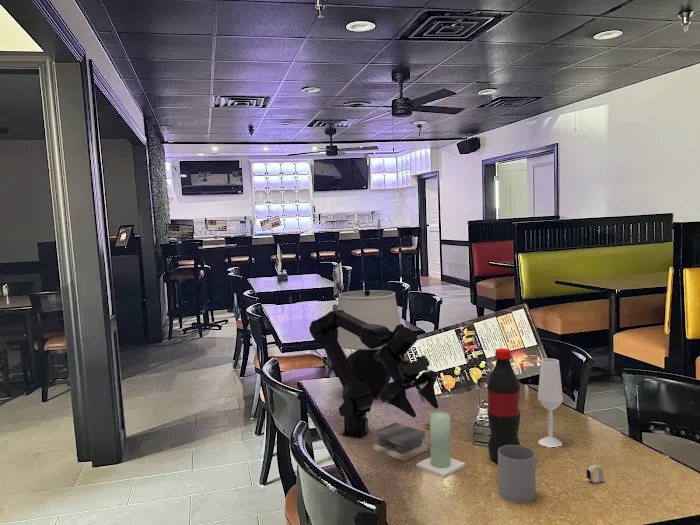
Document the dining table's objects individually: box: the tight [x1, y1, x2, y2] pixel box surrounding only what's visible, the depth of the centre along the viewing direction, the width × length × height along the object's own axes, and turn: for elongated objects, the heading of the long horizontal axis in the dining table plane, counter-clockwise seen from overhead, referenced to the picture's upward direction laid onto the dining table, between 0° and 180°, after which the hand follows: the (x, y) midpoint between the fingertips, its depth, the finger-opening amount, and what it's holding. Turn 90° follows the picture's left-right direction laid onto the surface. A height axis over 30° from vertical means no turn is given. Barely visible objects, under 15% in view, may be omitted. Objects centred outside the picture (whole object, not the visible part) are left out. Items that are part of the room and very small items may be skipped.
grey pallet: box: [372, 422, 429, 462], centre depth 152 cm, size 12×10×5 cm
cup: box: [497, 444, 537, 504], centre depth 125 cm, size 8×8×10 cm
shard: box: [423, 418, 430, 430], centre depth 166 cm, size 11×8×2 cm
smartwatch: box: [586, 464, 605, 484], centre depth 130 cm, size 4×2×4 cm, turn 96°
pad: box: [416, 457, 466, 479], centre depth 141 cm, size 9×9×1 cm
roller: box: [429, 411, 452, 468], centre depth 140 cm, size 5×5×13 cm
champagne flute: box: [537, 357, 564, 448], centre depth 153 cm, size 7×7×24 cm
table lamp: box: [336, 289, 402, 398], centre depth 201 cm, size 27×27×40 cm
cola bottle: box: [486, 347, 521, 463], centre depth 143 cm, size 8×8×30 cm
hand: (426, 412), depth 143 cm, fingers open, 9 cm apart
